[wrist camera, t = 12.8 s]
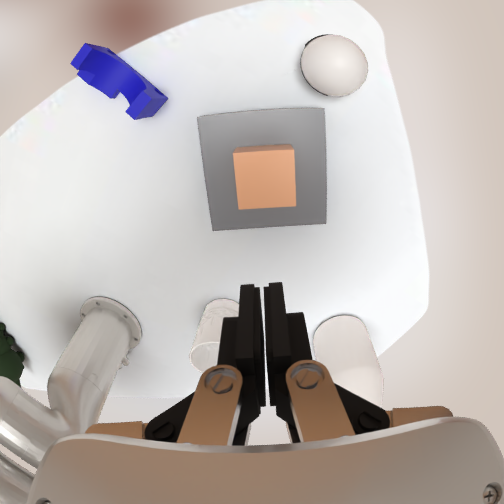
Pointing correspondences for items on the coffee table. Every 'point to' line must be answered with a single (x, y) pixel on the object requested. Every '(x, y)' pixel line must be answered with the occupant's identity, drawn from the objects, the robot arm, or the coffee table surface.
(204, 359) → the white cup
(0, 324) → the toy figurine
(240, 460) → the robot arm
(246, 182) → the tan block
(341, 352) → the wine bottle
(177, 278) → the coffee table surface
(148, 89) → the cable clip
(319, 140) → the flat gray square plate
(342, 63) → the white piece
